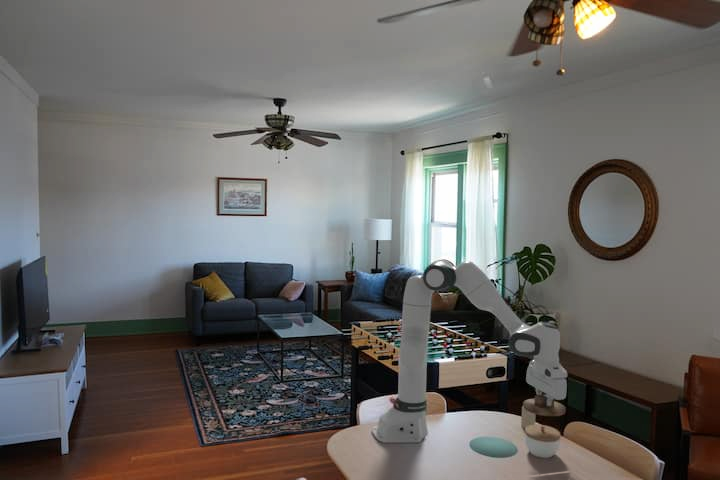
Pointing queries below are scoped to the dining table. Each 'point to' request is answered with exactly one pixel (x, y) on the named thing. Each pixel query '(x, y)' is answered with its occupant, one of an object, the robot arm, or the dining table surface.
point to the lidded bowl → (542, 440)
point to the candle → (527, 418)
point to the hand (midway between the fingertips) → (544, 403)
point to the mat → (493, 447)
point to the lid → (543, 406)
